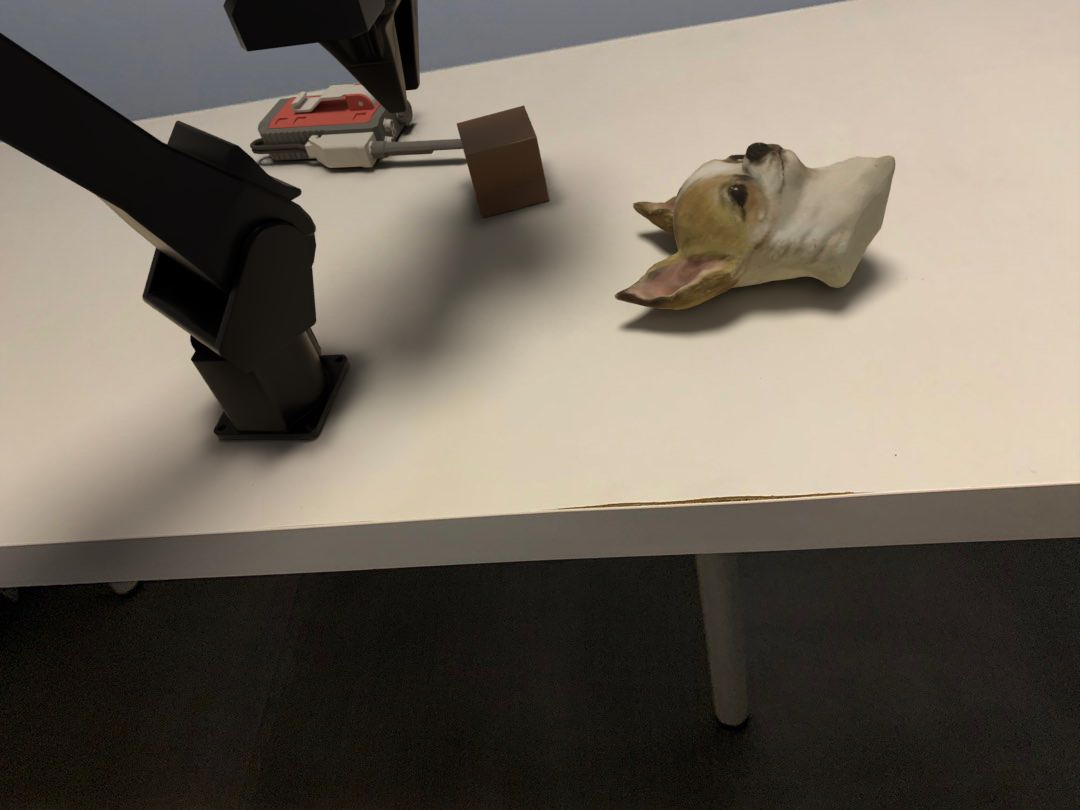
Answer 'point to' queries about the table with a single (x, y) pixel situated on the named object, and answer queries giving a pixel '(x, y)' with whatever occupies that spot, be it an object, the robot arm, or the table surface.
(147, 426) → the table surface
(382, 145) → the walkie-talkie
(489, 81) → the table surface
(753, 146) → the ceramic sculpture
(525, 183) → the walnut block
